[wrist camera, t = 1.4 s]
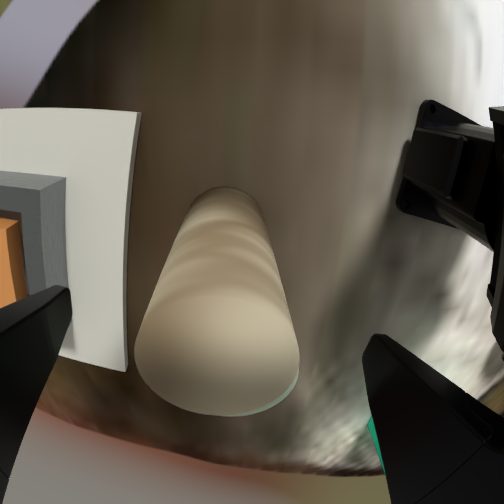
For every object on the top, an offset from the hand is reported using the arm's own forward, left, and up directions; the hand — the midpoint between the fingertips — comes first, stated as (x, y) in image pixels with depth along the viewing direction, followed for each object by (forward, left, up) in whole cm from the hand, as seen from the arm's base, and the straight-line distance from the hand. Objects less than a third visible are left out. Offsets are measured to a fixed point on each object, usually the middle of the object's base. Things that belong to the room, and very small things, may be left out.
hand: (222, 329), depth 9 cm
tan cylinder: (0, 0, -9) cm, 9 cm away
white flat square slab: (+13, +3, -9) cm, 16 cm away
